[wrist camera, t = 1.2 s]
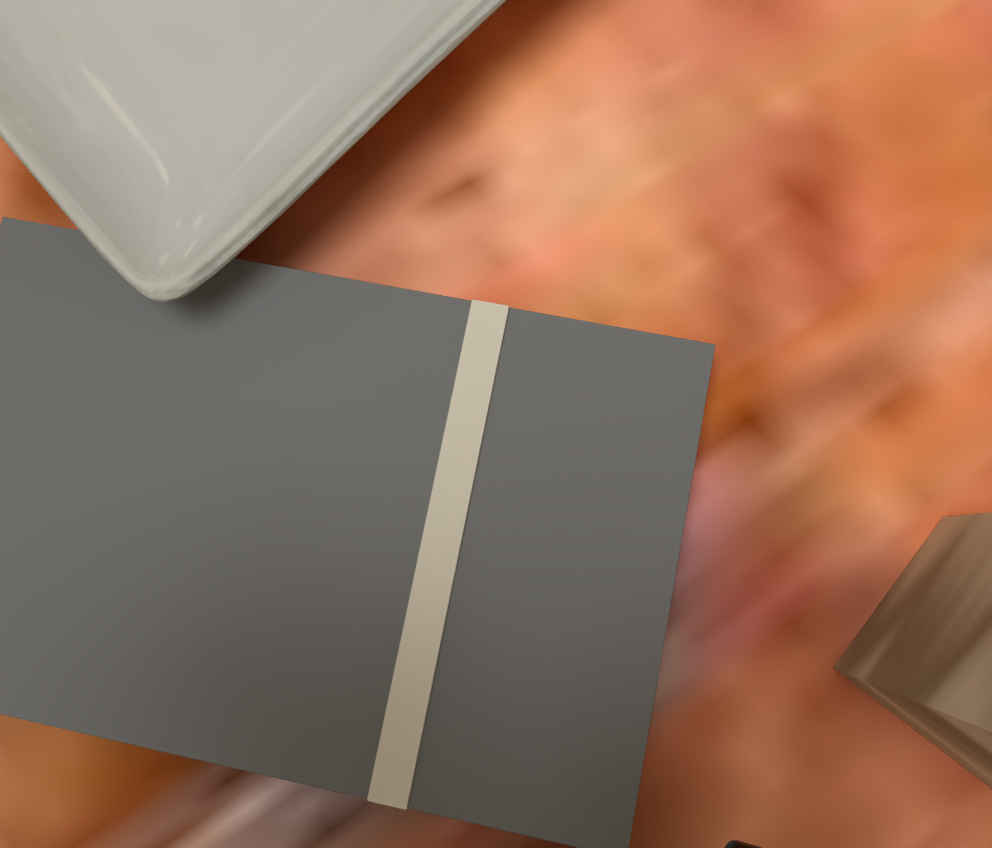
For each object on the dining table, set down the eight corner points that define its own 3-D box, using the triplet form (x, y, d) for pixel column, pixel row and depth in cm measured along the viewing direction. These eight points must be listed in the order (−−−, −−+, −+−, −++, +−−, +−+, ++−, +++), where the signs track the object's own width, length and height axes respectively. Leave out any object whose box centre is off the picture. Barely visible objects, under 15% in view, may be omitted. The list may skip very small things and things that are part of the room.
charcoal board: (621, 839, 23) (627, 861, 22) (-89, 676, 25) (-134, 685, 23) (705, 356, 25) (716, 343, 23) (33, 235, 27) (-1, 214, 25)
